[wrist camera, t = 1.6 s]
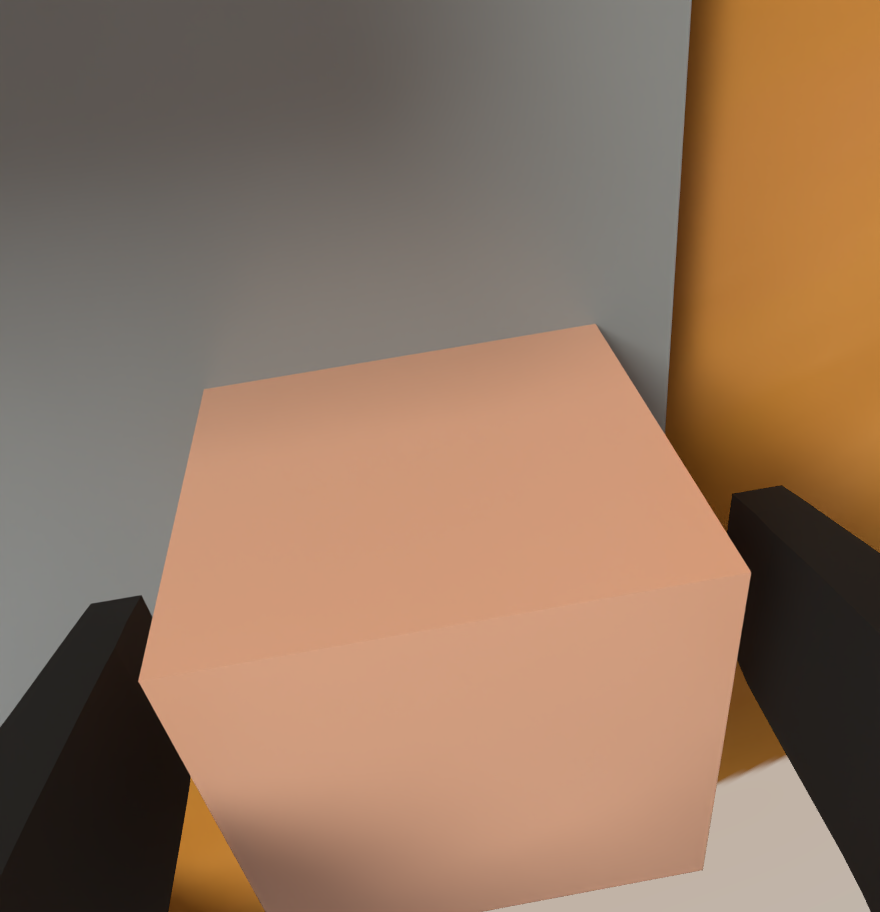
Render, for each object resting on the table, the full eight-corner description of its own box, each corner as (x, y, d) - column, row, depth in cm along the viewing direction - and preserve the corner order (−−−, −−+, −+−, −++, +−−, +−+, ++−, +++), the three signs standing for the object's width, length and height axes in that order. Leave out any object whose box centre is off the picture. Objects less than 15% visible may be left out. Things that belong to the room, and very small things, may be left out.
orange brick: (596, 595, 13) (702, 870, 9) (294, 649, 13) (285, 948, 9) (595, 323, 10) (751, 571, 6) (204, 389, 10) (138, 681, 6)
